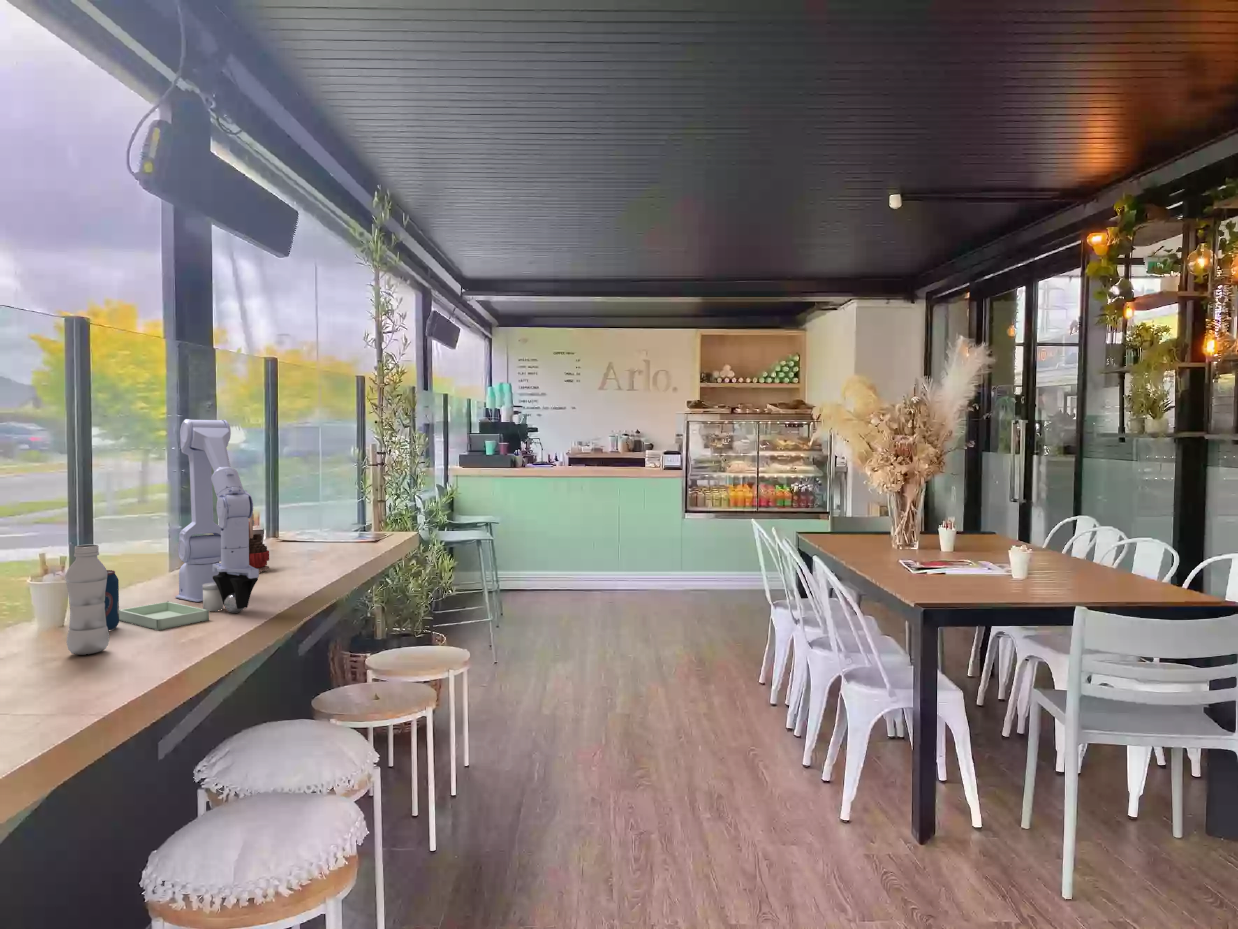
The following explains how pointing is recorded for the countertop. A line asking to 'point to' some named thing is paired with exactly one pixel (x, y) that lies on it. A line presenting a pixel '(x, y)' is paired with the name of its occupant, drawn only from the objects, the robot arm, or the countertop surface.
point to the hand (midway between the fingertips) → (235, 606)
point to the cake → (257, 550)
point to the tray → (163, 615)
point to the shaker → (212, 597)
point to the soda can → (112, 600)
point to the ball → (231, 604)
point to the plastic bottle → (87, 602)
